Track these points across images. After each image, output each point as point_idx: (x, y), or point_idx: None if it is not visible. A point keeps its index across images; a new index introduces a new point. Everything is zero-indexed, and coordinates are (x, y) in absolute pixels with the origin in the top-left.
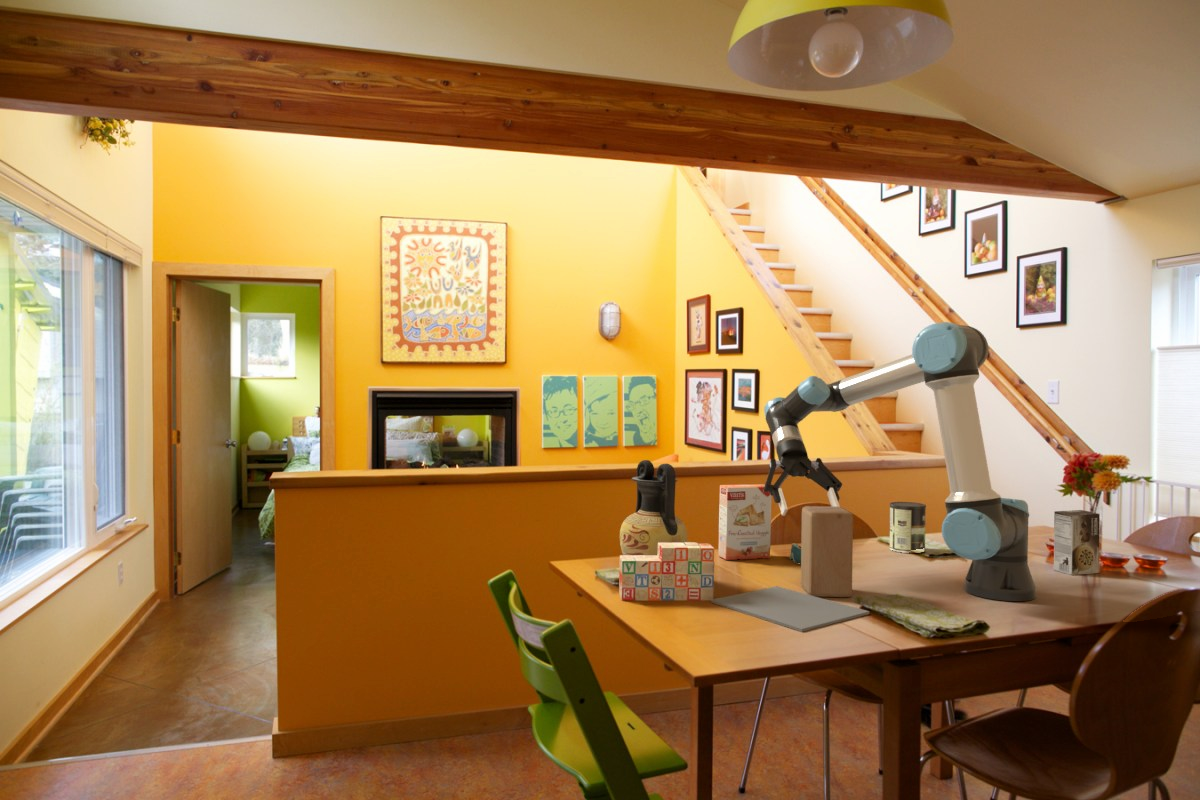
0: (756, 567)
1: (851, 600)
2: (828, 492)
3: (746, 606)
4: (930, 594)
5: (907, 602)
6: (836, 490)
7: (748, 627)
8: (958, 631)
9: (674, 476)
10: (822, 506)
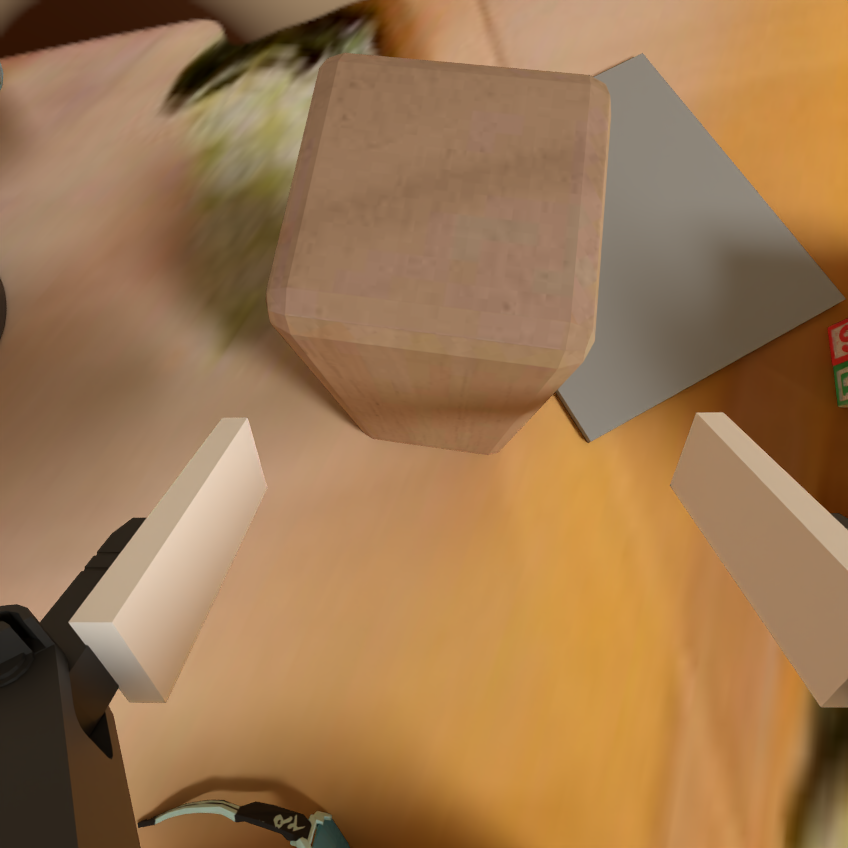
0: (577, 808)
1: None
2: (154, 661)
3: (744, 227)
4: (124, 335)
5: (248, 262)
6: (45, 622)
7: (761, 96)
8: (276, 46)
9: None
10: (427, 300)
